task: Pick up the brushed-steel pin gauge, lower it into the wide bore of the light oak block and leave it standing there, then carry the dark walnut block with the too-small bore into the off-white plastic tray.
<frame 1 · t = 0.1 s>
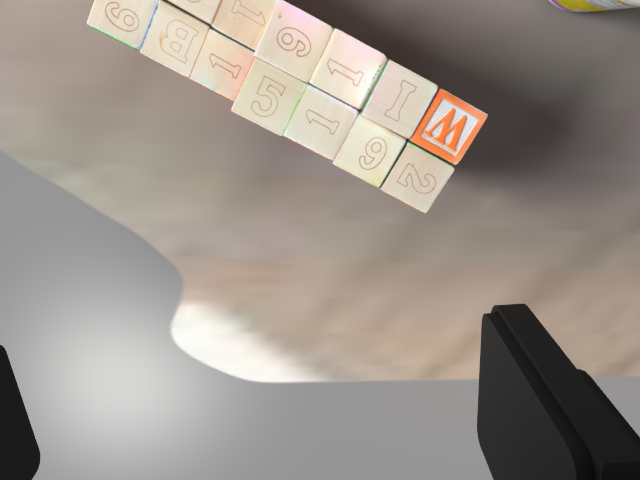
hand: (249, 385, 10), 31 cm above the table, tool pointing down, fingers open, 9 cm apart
stack of blocks: (292, 60, 38), on the table
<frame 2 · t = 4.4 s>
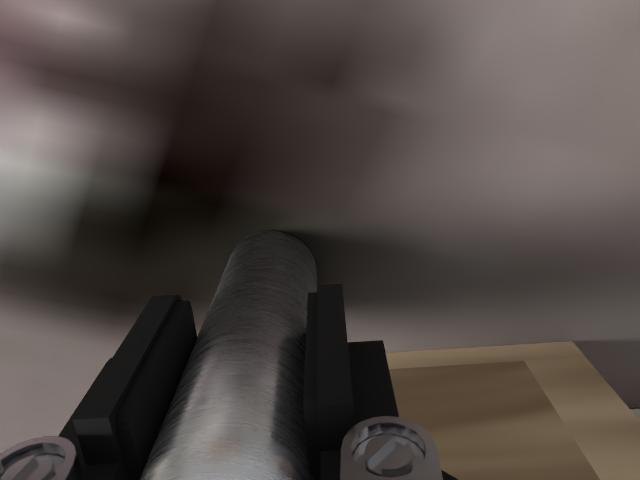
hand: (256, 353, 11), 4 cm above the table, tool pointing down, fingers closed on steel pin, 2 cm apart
steel pin: (272, 272, 15), on the table, touching gripper
oak block: (440, 447, 18), on the table
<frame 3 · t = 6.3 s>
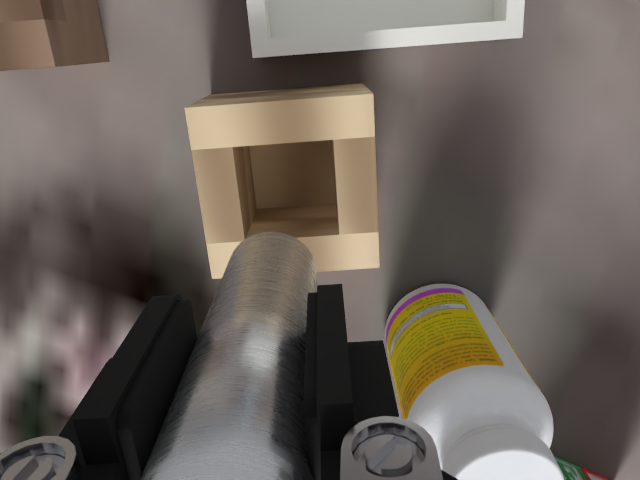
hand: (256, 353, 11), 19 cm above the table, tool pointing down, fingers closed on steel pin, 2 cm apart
walnut block: (37, 2, 26), on the table
steel pin: (272, 273, 15), point 15 cm above the table, touching gripper
oak block: (293, 163, 29), on the table
supplement bottle: (435, 325, 33), on the table
when the fingers open (7 cm above the table, at t = 8.6 s): steel pin drops 2 cm, resting on oak block.
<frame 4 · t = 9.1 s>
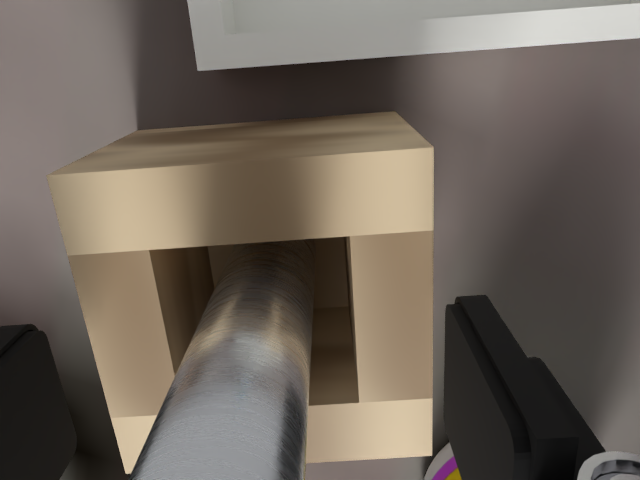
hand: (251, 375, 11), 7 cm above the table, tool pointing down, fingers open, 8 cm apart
steel pin: (275, 252, 17), point 1 cm above the table, touching oak block
oak block: (278, 239, 18), on the table, touching steel pin
supplement bottle: (498, 474, 21), on the table
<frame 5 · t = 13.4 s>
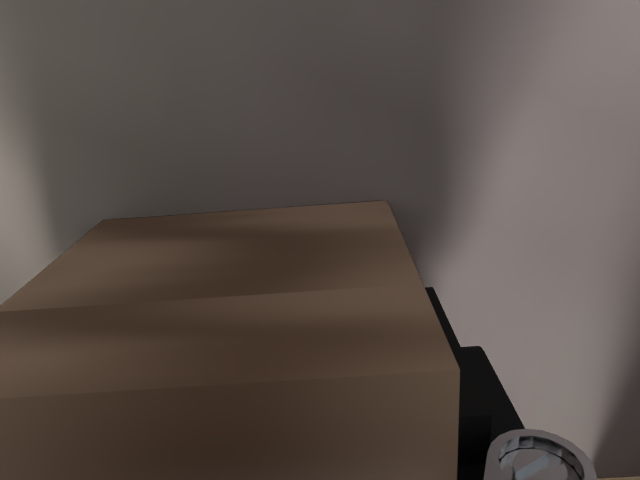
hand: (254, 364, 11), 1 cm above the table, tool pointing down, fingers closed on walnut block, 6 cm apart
walnut block: (260, 334, 12), on the table, touching gripper
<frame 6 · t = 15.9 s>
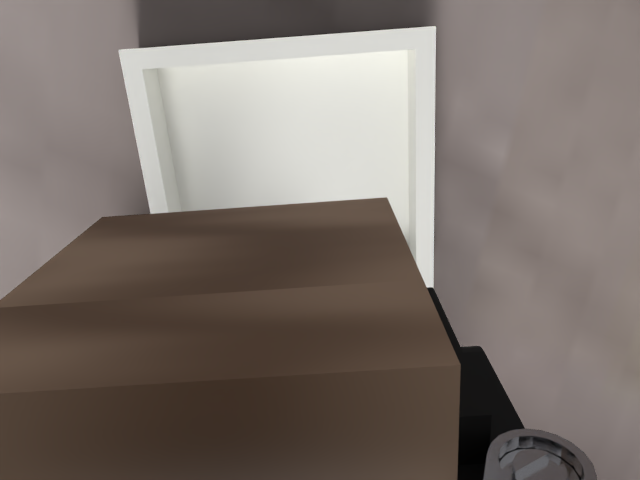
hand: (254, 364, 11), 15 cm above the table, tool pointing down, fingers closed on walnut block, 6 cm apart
tray: (293, 177, 25), on the table
walnut block: (259, 331, 12), point 14 cm above the table, touching gripper
when the fingers open (3 cm above the table, at t = 18.5 s): walnut block drops 2 cm, resting on tray.
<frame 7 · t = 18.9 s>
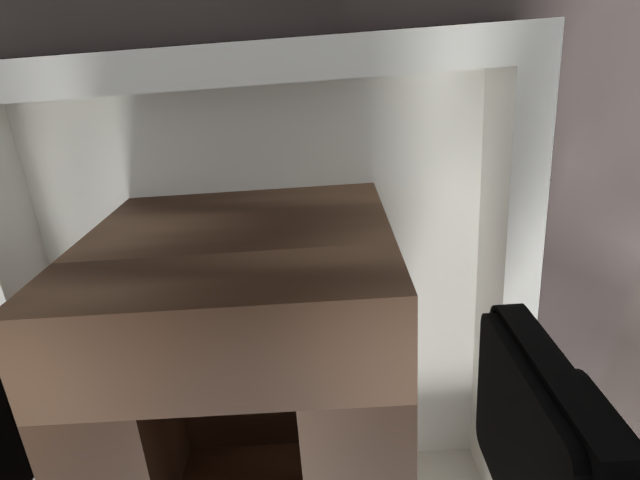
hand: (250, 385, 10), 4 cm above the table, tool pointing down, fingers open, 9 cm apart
tray: (269, 288, 14), on the table
walnut block: (263, 299, 14), resting on tray
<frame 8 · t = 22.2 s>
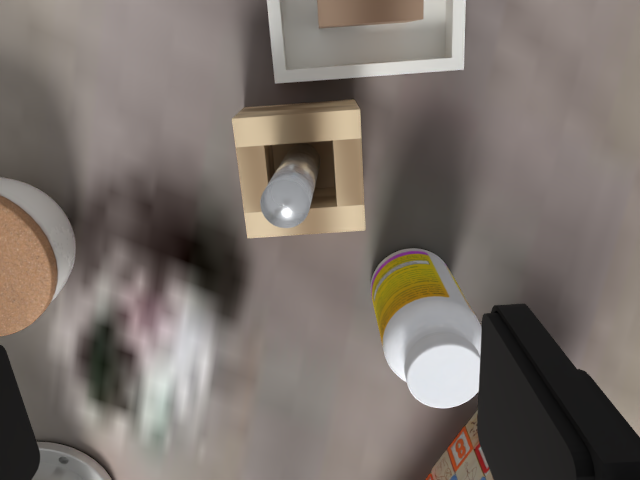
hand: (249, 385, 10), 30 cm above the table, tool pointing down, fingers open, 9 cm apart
steel pin: (302, 161, 38), point 1 cm above the table, touching oak block
oak block: (303, 157, 39), on the table, touching steel pin
lidded jar: (30, 226, 41), on the table
supplement bottle: (409, 281, 43), on the table
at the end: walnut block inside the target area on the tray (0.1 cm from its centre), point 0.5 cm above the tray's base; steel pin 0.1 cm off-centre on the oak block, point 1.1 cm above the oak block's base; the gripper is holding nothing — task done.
